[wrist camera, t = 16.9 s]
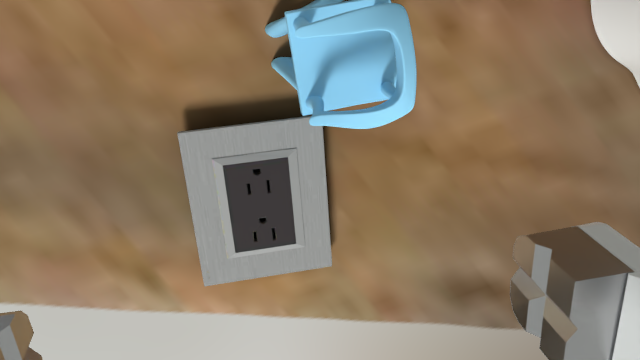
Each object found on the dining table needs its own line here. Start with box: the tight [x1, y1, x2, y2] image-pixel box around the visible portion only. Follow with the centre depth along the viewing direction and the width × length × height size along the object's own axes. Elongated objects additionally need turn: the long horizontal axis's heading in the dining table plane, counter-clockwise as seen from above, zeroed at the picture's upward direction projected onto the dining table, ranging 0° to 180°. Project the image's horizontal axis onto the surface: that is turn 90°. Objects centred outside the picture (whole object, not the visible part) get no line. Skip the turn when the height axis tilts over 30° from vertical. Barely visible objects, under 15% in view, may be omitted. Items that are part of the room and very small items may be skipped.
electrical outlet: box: [177, 116, 332, 286], centre depth 46 cm, size 13×10×2 cm
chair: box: [265, 0, 416, 129], centre depth 37 cm, size 8×8×12 cm
